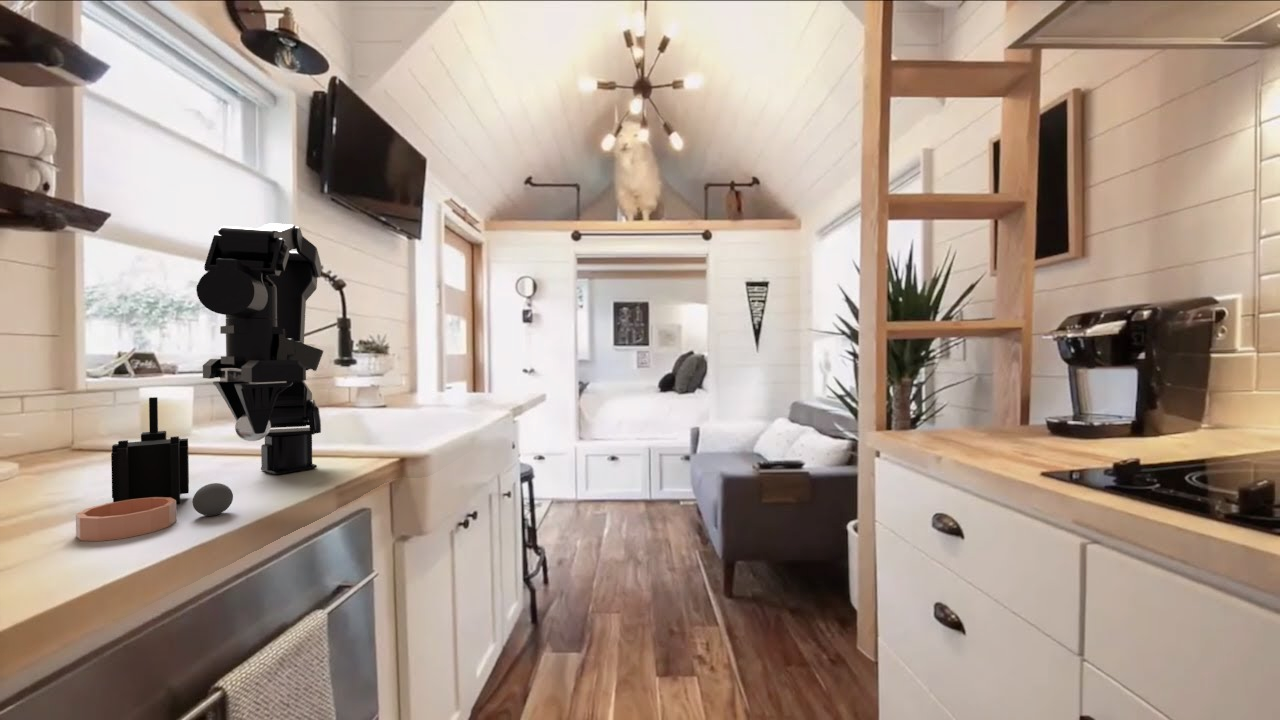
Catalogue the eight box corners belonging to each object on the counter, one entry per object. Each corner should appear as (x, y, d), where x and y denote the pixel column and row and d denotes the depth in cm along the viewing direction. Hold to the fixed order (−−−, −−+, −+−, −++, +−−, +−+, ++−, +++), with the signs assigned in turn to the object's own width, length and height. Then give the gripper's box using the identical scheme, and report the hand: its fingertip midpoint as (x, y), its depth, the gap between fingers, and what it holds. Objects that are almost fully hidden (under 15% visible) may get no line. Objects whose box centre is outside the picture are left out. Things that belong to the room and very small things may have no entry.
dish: (163, 512, 68) (163, 493, 68) (184, 525, 63) (184, 504, 63) (70, 531, 61) (70, 509, 61) (86, 546, 56) (85, 523, 56)
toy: (107, 403, 66) (118, 398, 74) (109, 515, 67) (120, 498, 74) (185, 400, 71) (188, 395, 79) (187, 504, 71) (190, 489, 79)
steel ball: (264, 437, 76) (263, 410, 76) (275, 440, 73) (275, 411, 73) (230, 441, 72) (230, 412, 72) (241, 444, 70) (241, 414, 70)
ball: (226, 508, 70) (226, 478, 70) (238, 513, 67) (237, 482, 67) (188, 516, 66) (187, 484, 66) (199, 522, 64) (198, 489, 64)
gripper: (345, 320, 74) (346, 430, 74) (287, 323, 84) (288, 420, 85) (252, 315, 65) (254, 442, 65) (200, 320, 75) (202, 428, 76)
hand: (253, 432), depth 73 cm, fingers closed on steel ball, 4 cm apart
